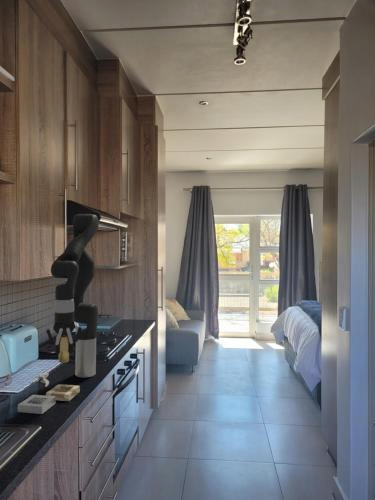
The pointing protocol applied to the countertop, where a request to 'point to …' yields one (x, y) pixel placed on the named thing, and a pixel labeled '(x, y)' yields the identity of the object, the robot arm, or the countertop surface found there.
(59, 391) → the rack block
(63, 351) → the brass peg
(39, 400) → the socket block
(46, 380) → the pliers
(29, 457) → the countertop surface
